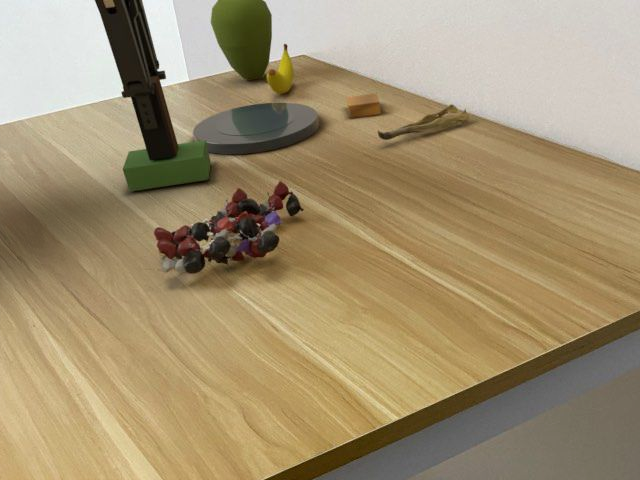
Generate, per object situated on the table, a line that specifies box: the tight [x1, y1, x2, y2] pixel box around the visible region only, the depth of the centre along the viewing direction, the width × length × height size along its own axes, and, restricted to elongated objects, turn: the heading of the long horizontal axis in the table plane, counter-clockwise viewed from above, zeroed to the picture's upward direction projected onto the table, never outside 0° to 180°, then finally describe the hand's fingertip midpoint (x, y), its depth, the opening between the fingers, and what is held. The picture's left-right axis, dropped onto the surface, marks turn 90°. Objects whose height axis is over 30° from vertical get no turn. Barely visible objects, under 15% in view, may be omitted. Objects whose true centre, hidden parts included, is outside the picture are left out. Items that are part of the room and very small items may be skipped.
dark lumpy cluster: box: [153, 180, 304, 275], centre depth 76 cm, size 15×14×5 cm
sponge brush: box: [122, 76, 212, 193], centre depth 90 cm, size 9×6×10 cm, turn 98°
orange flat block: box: [346, 92, 382, 119], centre depth 105 cm, size 4×4×2 cm
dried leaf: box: [377, 104, 470, 141], centre depth 97 cm, size 4×13×2 cm, turn 125°
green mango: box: [210, 0, 273, 81], centre depth 118 cm, size 9×8×12 cm
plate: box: [192, 102, 320, 155], centre depth 103 cm, size 16×16×1 cm
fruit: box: [266, 43, 294, 95], centre depth 114 cm, size 10×2×5 cm, turn 174°
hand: (163, 151), depth 91 cm, fingers closed on sponge brush, 3 cm apart
